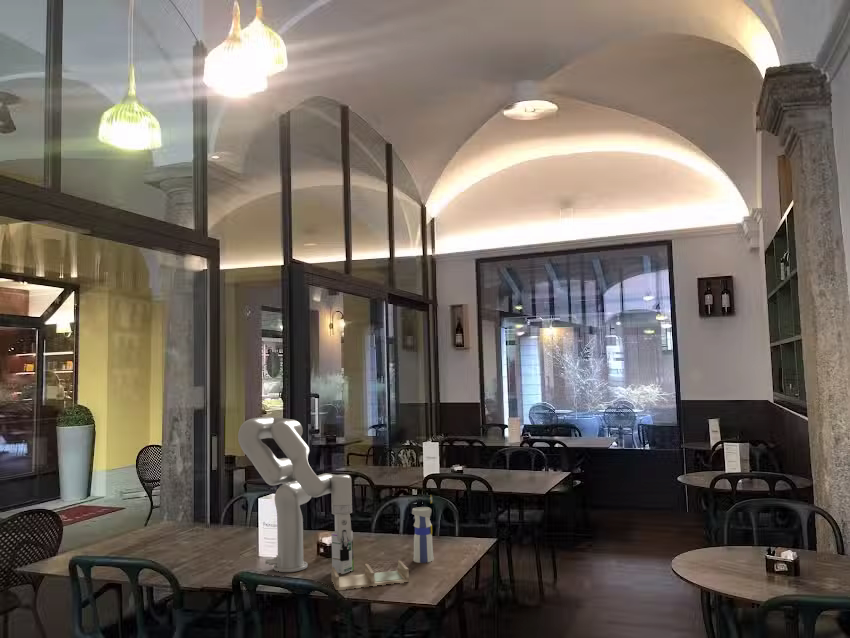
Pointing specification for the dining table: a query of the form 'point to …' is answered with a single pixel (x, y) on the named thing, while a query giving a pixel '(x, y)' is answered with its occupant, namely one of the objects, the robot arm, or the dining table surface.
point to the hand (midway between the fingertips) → (342, 557)
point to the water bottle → (423, 534)
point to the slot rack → (370, 578)
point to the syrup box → (336, 563)
